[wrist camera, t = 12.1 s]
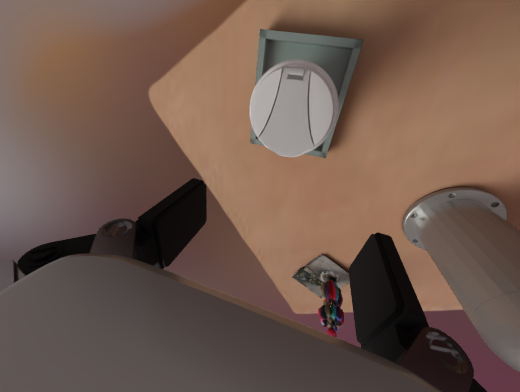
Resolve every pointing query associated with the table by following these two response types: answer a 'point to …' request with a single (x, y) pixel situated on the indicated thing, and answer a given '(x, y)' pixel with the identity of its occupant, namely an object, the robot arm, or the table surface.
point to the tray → (313, 50)
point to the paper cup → (294, 107)
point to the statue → (326, 289)
